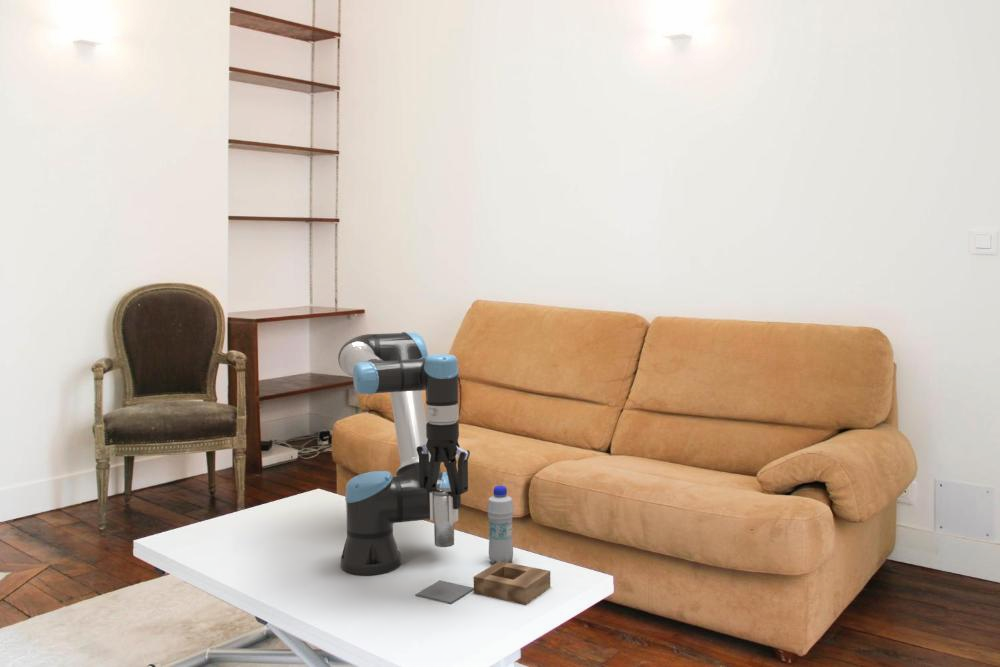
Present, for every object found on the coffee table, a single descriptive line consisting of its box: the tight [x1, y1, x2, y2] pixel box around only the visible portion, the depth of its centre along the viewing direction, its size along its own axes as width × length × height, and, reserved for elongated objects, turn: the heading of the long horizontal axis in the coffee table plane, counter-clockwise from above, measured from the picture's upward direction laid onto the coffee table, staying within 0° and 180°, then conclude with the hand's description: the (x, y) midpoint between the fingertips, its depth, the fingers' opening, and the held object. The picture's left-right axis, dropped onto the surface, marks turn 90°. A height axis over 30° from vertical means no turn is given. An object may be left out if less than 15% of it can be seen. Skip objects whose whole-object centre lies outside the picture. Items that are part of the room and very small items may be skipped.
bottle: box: [486, 485, 514, 565], centre depth 234 cm, size 7×7×20 cm
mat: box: [415, 580, 474, 605], centre depth 215 cm, size 10×10×1 cm
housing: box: [473, 561, 551, 606], centre depth 216 cm, size 14×12×4 cm
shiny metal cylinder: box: [433, 488, 455, 548], centre depth 213 cm, size 5×5×13 cm
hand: (444, 520), depth 214 cm, fingers closed on shiny metal cylinder, 5 cm apart
